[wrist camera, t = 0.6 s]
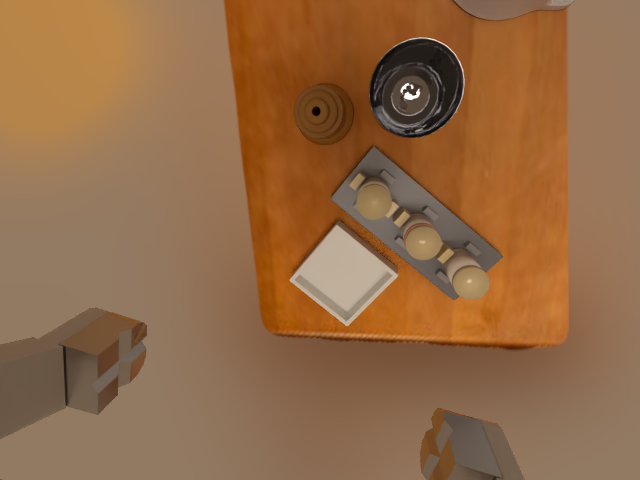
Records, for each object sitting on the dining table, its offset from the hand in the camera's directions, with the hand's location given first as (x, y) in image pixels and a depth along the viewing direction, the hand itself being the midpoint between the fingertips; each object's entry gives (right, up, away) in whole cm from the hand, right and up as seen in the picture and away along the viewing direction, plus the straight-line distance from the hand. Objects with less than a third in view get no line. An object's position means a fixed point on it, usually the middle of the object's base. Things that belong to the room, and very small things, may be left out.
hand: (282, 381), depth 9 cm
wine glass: (+12, +21, +34) cm, 42 cm away
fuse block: (+14, +6, +38) cm, 41 cm away
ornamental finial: (+2, +21, +36) cm, 41 cm away
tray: (+5, -1, +42) cm, 42 cm away
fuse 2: (+20, +1, +37) cm, 42 cm away
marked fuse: (+14, +6, +36) cm, 40 cm away
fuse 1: (+8, +10, +36) cm, 38 cm away
